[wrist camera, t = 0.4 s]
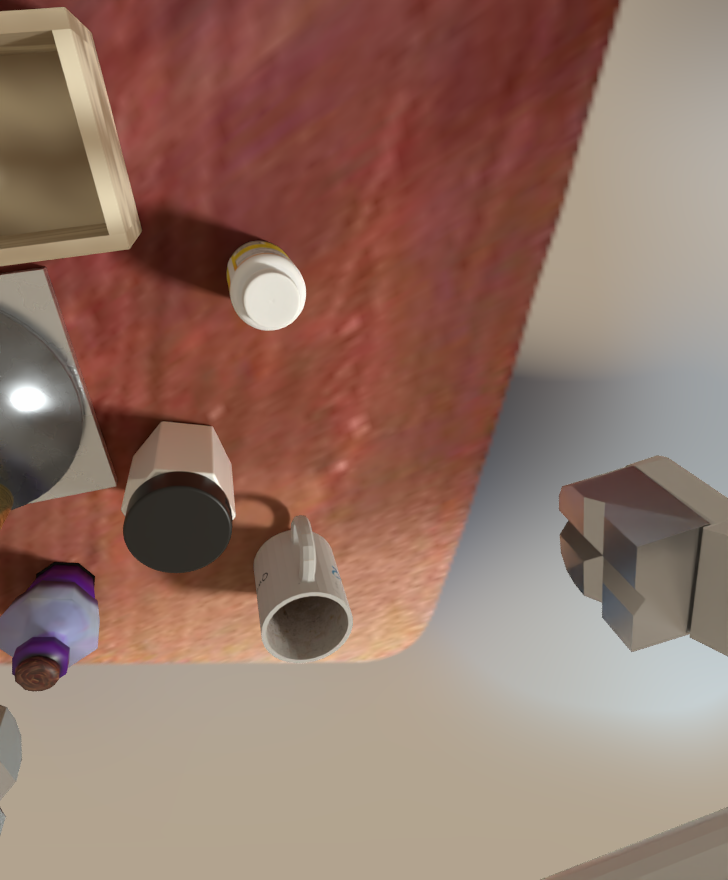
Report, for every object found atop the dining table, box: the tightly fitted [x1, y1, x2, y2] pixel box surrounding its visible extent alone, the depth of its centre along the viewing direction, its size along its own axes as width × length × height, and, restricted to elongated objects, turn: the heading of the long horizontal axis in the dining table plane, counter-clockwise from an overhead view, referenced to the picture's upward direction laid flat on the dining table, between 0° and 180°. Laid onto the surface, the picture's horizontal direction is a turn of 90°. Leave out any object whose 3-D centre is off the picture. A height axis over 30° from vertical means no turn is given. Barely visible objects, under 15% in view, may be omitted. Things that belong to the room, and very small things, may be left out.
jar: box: [121, 421, 236, 573], centre depth 51 cm, size 9×8×12 cm
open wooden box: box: [0, 7, 142, 266], centre depth 39 cm, size 13×13×9 cm
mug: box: [254, 515, 353, 663], centre depth 59 cm, size 12×9×10 cm
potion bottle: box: [0, 562, 100, 691], centre depth 54 cm, size 9×9×12 cm
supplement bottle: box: [226, 241, 306, 330], centre depth 46 cm, size 6×6×10 cm
